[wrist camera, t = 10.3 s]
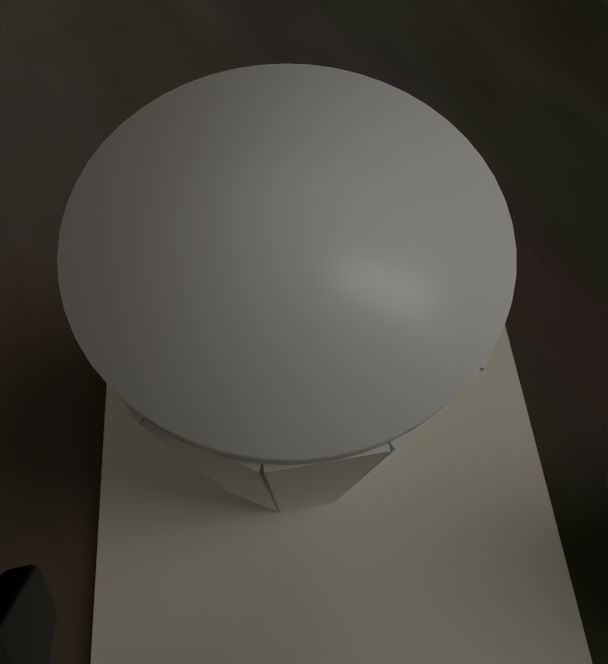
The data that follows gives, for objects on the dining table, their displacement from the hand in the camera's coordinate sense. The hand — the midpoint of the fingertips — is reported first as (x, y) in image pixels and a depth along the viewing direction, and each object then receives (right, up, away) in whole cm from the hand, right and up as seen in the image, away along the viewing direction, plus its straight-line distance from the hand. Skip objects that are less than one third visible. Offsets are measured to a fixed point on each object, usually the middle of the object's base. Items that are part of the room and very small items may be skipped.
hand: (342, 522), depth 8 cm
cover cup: (-1, 0, +12) cm, 12 cm away
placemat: (0, -4, +10) cm, 11 cm away
